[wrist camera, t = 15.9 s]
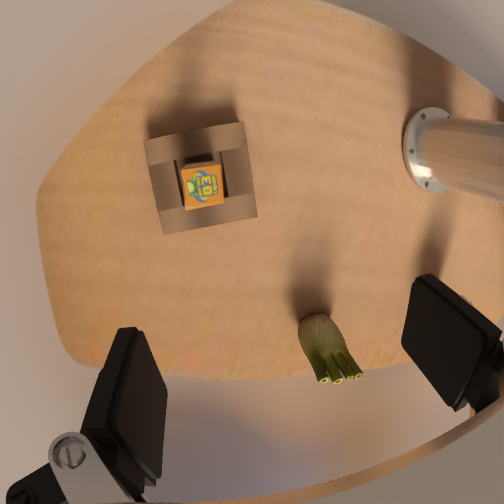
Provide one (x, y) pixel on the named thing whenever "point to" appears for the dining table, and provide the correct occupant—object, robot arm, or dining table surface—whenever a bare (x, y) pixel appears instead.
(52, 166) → the dining table surface
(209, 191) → the supplement box
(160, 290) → the dining table surface
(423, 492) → the robot arm
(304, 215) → the dining table surface
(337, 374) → the fennel bulb
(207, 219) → the square wooden frame
